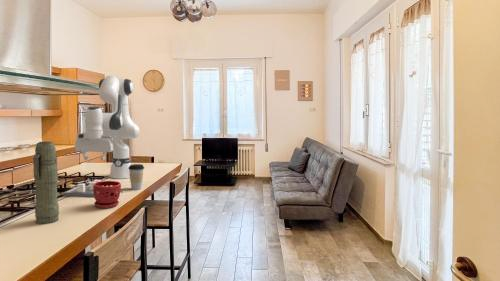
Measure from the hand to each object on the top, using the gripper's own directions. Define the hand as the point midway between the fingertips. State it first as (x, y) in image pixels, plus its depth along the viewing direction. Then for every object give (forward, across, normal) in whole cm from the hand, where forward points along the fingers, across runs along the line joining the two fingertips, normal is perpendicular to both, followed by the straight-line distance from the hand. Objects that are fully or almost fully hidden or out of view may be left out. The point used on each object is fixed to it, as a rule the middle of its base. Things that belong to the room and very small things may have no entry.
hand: (94, 159), depth 189 cm
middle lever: (+18, +3, -5) cm, 19 cm away
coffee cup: (+20, -18, -19) cm, 33 cm away
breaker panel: (+21, +7, -5) cm, 22 cm away
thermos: (+22, +1, +43) cm, 48 cm away
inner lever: (+18, +3, -11) cm, 21 cm away
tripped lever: (+19, +7, 0) cm, 20 cm away
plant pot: (+22, -15, +18) cm, 32 cm away
